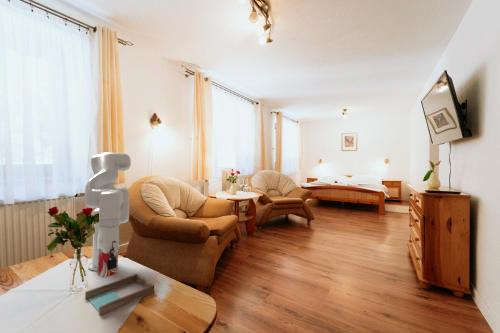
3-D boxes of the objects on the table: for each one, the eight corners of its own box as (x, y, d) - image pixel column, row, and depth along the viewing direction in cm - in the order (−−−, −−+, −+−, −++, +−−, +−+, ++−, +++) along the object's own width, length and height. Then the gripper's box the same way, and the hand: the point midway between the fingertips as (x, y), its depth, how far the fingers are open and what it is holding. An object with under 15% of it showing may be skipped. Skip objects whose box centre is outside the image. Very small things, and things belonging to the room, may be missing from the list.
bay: (85, 298, 94) (85, 291, 94) (136, 279, 110) (136, 273, 110) (100, 315, 84) (100, 307, 84) (154, 292, 101) (154, 285, 101)
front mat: (87, 299, 93) (87, 298, 93) (111, 290, 100) (111, 290, 100) (100, 313, 85) (100, 312, 85) (125, 302, 92) (125, 301, 92)
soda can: (107, 280, 89) (108, 249, 89) (92, 277, 90) (93, 247, 90) (121, 272, 96) (122, 243, 96) (107, 270, 97) (108, 241, 97)
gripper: (91, 219, 95) (89, 262, 95) (107, 228, 84) (106, 276, 84) (110, 217, 101) (109, 257, 101) (128, 224, 90) (127, 269, 90)
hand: (107, 265), depth 93 cm, fingers closed on soda can, 6 cm apart
